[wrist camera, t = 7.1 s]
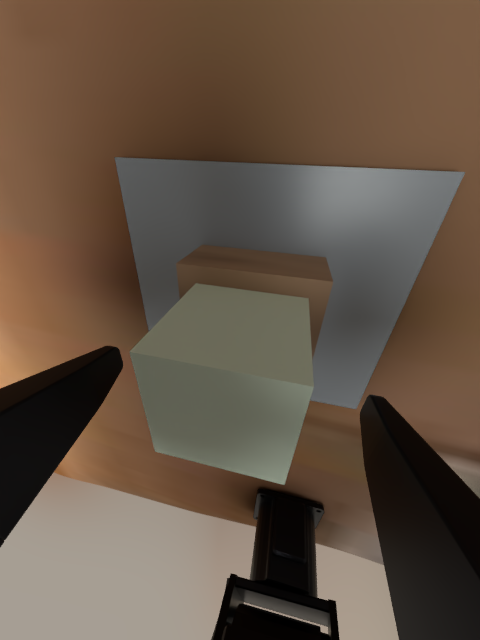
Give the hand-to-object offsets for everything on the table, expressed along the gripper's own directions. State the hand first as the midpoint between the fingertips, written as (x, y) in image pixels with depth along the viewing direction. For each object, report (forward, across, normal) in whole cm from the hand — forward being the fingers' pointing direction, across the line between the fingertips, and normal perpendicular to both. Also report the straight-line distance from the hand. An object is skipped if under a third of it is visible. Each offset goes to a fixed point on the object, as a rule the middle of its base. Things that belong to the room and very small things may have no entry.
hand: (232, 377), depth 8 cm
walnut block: (+6, 0, 0) cm, 6 cm away
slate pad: (+6, 0, 0) cm, 6 cm away
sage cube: (+2, 0, 0) cm, 2 cm away
